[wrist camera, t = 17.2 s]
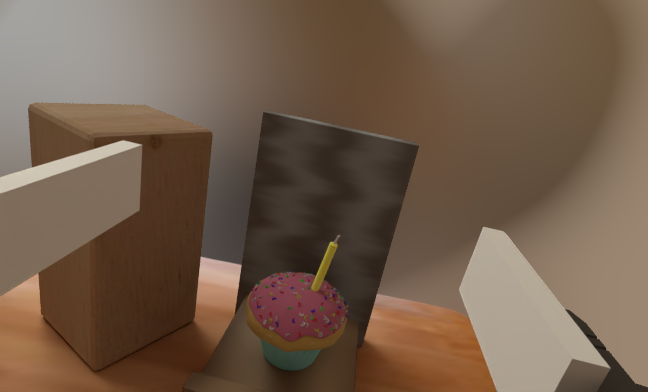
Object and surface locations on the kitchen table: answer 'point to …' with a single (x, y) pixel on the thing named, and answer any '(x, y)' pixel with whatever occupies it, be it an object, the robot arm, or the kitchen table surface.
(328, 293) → the cupcake
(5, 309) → the kitchen table surface
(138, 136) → the wooden block
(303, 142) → the wooden bookend
